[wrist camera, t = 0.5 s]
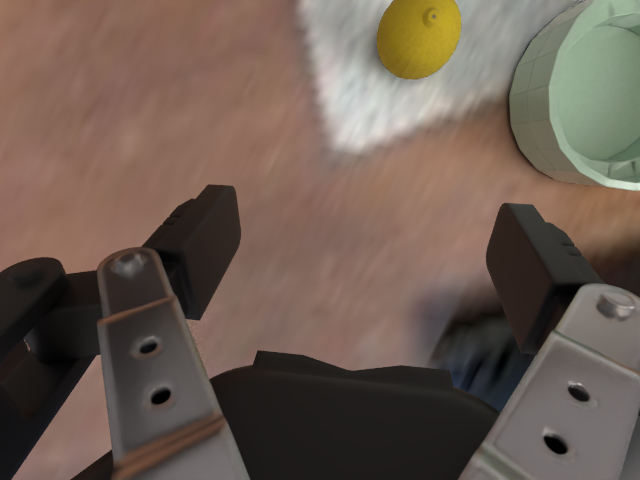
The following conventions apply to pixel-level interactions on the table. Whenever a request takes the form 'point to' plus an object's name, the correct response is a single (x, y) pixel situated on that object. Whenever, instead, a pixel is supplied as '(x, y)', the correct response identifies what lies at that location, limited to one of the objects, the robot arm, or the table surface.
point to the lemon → (418, 36)
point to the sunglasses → (13, 359)
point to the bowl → (582, 96)
